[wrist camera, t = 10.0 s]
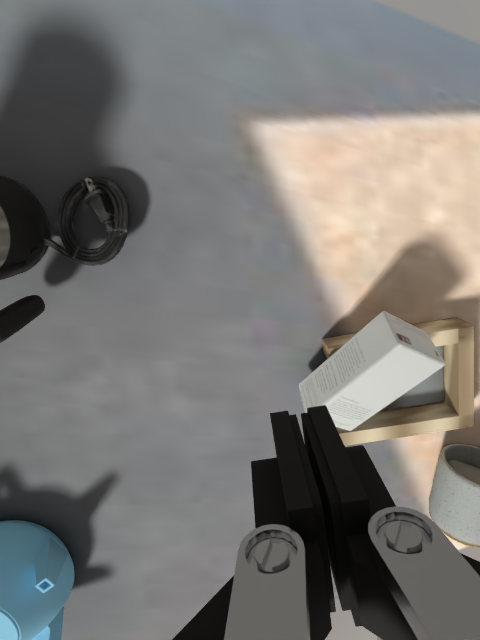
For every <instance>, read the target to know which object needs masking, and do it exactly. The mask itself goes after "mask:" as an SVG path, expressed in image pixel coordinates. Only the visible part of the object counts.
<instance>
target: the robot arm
mask: <svg viewBox="0 0 480 640" xmlns="http://www.w3.org/2000/svg"><path fill="white" fill-rule="evenodd" d="M270 416H271V423H272V429H273V436H274V442H275V449H276V455H277V458H271V459H264V460H258V461H251V468H252V483H253V497H254V512H255V526H256V529H254V530H253V531H251V532H250V533H249V534H247V535H246V536H245V538H244V539H243V540H242V542H241V544H240V547H239V550H238V555H237V561H236V568H235V574H234V576H233V577H232V578H231V579H230V580H229V581H228V582H227V583H226V584H225V585H224V586H223V587H222V588H221V590H220V591H219V592H218V593H217V594H216V595H215V596H214V597H213V598H212V599H211V600H210V601H209V602H208V603H207V604H206V605H205V606H204V607H203V608H202V609H201V610H200V611H199V612H198V613H197V615H196V616H195V617H194V618H193V619H192V620H191V621H190V622H189V623H188V624H187V625H186V626H185V627H184V628H183V629H182V630H181V631H180V632H179V633H178V634H177V635H176V636H175V637H174V639H173V640H325V638H326V637H327V635H328V634H329V632H330V631H331V629H332V626H331V618H330V612H335V611H336V609H335V601H334V593H333V585H332V576H331V570H332V574H333V577H334V581H335V585H336V589H337V592H338V596H339V600H340V603H341V607H342V610H343V611H345V610H351V612H352V615H353V619H354V622H355V625H356V626H363V627H365V628H366V629H368V630H369V631H371V632H372V633H374V634H375V635H377V638H378V640H480V562H479V561H477V560H474V559H472V558H470V557H468V556H465V555H463V554H461V553H460V552H459V551H458V550H457V549H456V548H455V546H454V545H453V544H452V543H451V542H450V541H449V539H448V538H447V537H446V536H445V535H444V534H443V532H442V531H441V530H440V529H439V528H438V526H437V525H436V524H435V523H434V522H433V521H432V520H431V519H430V518H429V517H427V516H426V515H424V514H422V513H421V512H419V511H417V510H413V509H410V508H407V507H396V505H395V504H394V502H393V500H392V498H391V496H390V494H389V492H388V490H387V489H386V487H385V485H384V483H383V481H382V479H381V477H380V476H379V474H378V472H377V470H376V468H375V466H374V464H373V462H372V461H371V459H370V457H369V455H368V453H367V451H366V449H365V448H364V446H362V445H359V446H352V447H346V448H345V446H344V444H343V441H342V439H341V437H340V435H339V433H338V431H337V428H336V426H335V424H334V422H333V420H332V417H331V415H330V413H329V411H328V409H327V407H326V405H322V406H315V407H309V408H307V413H302V414H301V418H302V426H303V434H304V441H305V444H304V441H303V437H302V434H301V430H300V427H299V424H298V420H297V417H296V414H295V415H289V413H288V411H282V412H276V413H270ZM330 566H331V568H330Z"/></svg>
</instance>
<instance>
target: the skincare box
mask: <svg viewBox="0 0 480 640" xmlns="http://www.w3.org/2000/svg"><path fill="white" fill-rule="evenodd" d="M443 366H445V361H444V360H443V358H442V356H441V355H440V353H439V352H438V350H437V349H436V347H435V345H434V344H433V342H432V341H431V339H430V338H429V336H428V335H427V334H426V332H425V331H423V330H421V329H419V328H417V327H415V326H413V325H411V324H409V323H407V322H405V321H403V320H401V319H399V318H397V317H395V316H393V315H391V314H389V313H388V312H386V311H382V312H381V313H380V314H378V315H377V316H376V317H375V318H374V319H373V320H372V321H370V322H369V323H368V324H367V325H366V326H365V327H364V328H362V329H361V330H360V331H359V332H358V333H357V334H356V335H354V336H353V337H352V338H351V339H350V340H349V341H347V342H346V343H345V344H344V345H343V346H342V347H341V348H340V349H338V350H337V351H336V352H335V353H334V354H333V355H331V356H330V357H329V358H328V359H327V360H326V361H325V362H323V363H322V364H321V365H320V366H319V367H318V368H317V369H315V370H314V371H313V372H312V373H311V374H310V375H309V376H308V377H306V378H305V379H304V380H303V381H302V382H301V383H299V390H300V395H301V399H302V403H303V407H304V411H305V413H307V408H309V407H315V406H322V405H326V407H327V409H328V411H329V413H330V415H331V417H332V420H333V422H334V424H335V426H336V427H338V428H341V429H345V430H348V431H351V430H353V429H354V428H356V427H357V426H359V425H360V424H362V423H363V422H364V421H366V420H367V419H369V418H370V417H372V416H373V415H375V414H376V413H377V412H379V411H380V410H382V409H383V408H385V407H386V406H387V405H389V404H390V403H392V402H393V401H395V400H396V399H397V398H399V397H400V396H402V395H403V394H405V393H406V392H408V391H409V390H410V389H412V388H413V387H415V386H416V385H418V384H419V383H421V382H422V381H424V380H425V379H426V378H428V377H429V376H431V375H432V374H434V373H435V372H436V371H438V370H439V369H441V368H442V367H443Z"/></svg>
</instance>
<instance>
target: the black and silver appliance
mask: <svg viewBox="0 0 480 640" xmlns="http://www.w3.org/2000/svg"><path fill="white" fill-rule="evenodd" d="M88 191H89V194H88V195H87V196H86V197H85V198H84V202H85V203H89V204H90V205H91V207H92V209H93V210H94V212H95V213H96V214H97V216H98V218H99V221H100V222H101V223H104V225H105V230H106V232H108V233H109V236H108V238H107V240H106V242H105V243H104V244H103V245H102V246H101V247H99V248H96V249H86V248H84V247H83V246H81V245H80V244H79V243H78V242H77V240H76V239H75V237H74V233H73V228H72V217H73V212H74V209H75V206H76V205H77V203H78V201H79V200H80V198H81V197H82V196H83V195H84V194H85V193H86V192H88ZM112 202H113V203H112ZM113 205H114V206H113ZM129 224H130V207H129V203H128V200H127V197H126V195H125V194H124V192H123V190H122V189H121V188H120V187H119V186H118V185H117V184H116V183H114V182H113V181H111V180H109V179H107V178H104V177H88V178H86V179H84V180H81V181H80V182H79V183H76V184H75V185H73V186H72V187H71V188H70V189H69V190H68V191H67V192H66V194H65V196H64V197H63V201H62V205H61V207H60V210H59V215H58V228H59V233H60V237H61V240H62V242H63V244H64V246H65V248H66V249H64V248H63V247H61V246H60V245H58V244H57V243H56V242H54V241H53V240H51V239H49V230H48V223H47V218H46V216H45V213H44V211H43V209H42V207H41V205H40V203H39V202H38V201H37V199H36V198H35V197H34V195H33V194H32V193H31V192H30V191H29V190H27V189H26V188H25V187H24V186H22V185H21V184H19V183H17V182H16V181H14V180H11V179H9V178H6V177H2V176H0V280H2V279H5V278H9V277H12V276H14V275H17V274H20V273H23V272H25V271H27V270H30V269H31V268H32V267H33V266H35V265H36V264H37V263H38V262H39V261H40V259H41V258H42V256H43V255H44V252H45V250H46V248H47V246H50V247H52V248H54V249H55V250H57V251H59V252H61V253H62V254H64V255H66V256H68V257H70V258H72V259H73V260H75V261H78V262H79V263H82V264H86V265H91V266H96V265H102V264H105V263H107V262H109V261H110V260H112V259H113V258H114V257H115V256H116V255H117V254H118V253H119V252H120V250H121V248H122V247H123V245H124V242H125V240H126V237H127V234H128V229H129ZM44 309H45V304H44V302H43V300H42V299H41V297H40V296H37V295H32V296H27V297H25V298H22V299H20V300H18V301H16V302H15V303H13V304H11V305H9V306H7V307H6V308H4V309H2V310H0V343H1V342H3V341H4V340H6V339H7V338H9V337H10V336H11V335H13V334H14V333H16V332H17V331H19V330H20V329H22V328H23V327H24V326H25V325H27V324H28V323H29V322H31V321H32V320H33V319H35V318H36V317H37V316H39V315H40V314H41V313H42V312H43V311H44Z"/></svg>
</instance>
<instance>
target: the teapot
mask: <svg viewBox="0 0 480 640" xmlns="http://www.w3.org/2000/svg"><path fill="white" fill-rule="evenodd" d="M73 584H74V565H73V562H72V559H71V556H70V554H69V552H68V550H67V548H66V547H65V545H64V544H63V542H62V541H61V540H60V539H59V538H58V537H57V536H56V535H55V534H54V533H53V532H51V531H50V530H48V529H47V528H45V527H43V526H41V525H38V524H36V523H32V522H28V521H22V520H9V521H1V522H0V640H61V634H62V621H63V608H64V607H63V605H64V604H65V602H66V600H67V599H68V597H69V595H70V592H71V590H72V587H73Z"/></svg>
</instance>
